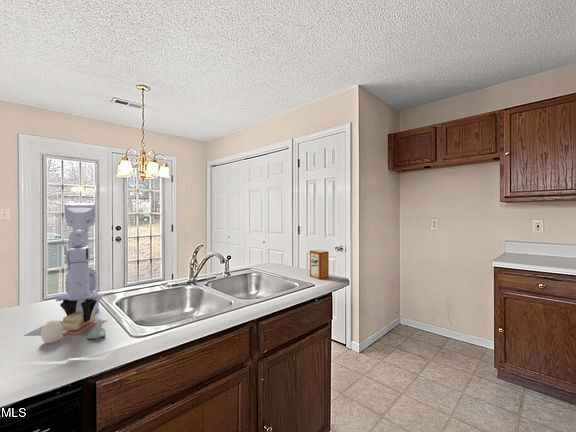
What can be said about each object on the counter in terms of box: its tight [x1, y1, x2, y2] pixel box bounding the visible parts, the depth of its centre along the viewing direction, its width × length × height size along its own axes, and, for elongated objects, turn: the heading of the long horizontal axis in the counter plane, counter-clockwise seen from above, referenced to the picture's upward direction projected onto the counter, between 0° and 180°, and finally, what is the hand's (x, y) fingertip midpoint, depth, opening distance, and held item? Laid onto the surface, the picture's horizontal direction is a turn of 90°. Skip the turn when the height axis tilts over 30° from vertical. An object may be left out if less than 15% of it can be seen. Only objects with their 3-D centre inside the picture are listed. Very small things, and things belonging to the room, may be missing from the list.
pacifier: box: [83, 318, 106, 343], centre depth 93 cm, size 7×6×6 cm
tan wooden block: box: [62, 308, 96, 330], centre depth 100 cm, size 9×4×4 cm, turn 0°
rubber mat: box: [23, 319, 108, 337], centre depth 100 cm, size 12×20×1 cm, turn 91°
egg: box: [40, 319, 63, 345], centre depth 90 cm, size 5×5×7 cm
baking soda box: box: [309, 249, 330, 280], centre depth 173 cm, size 10×6×16 cm
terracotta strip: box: [63, 320, 98, 334], centre depth 100 cm, size 10×6×1 cm, turn 1°
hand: (79, 321), depth 100 cm, fingers open, 4 cm apart
